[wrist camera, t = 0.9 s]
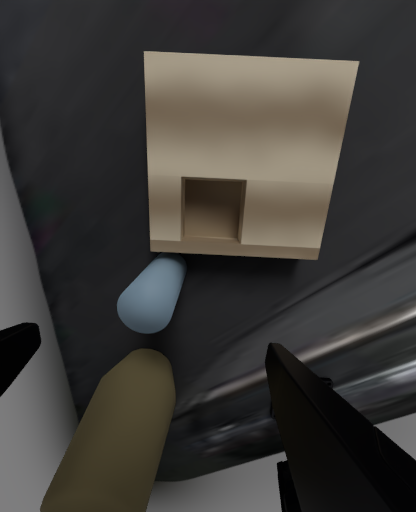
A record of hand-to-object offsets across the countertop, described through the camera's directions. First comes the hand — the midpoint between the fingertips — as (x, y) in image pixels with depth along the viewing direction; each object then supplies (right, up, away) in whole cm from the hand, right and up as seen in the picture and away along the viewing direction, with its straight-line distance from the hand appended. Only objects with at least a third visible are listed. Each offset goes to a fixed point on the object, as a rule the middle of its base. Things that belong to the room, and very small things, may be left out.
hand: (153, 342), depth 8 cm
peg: (-2, +2, +13) cm, 13 cm away
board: (+5, +11, +10) cm, 15 cm away
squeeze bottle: (-5, -10, +16) cm, 20 cm away
